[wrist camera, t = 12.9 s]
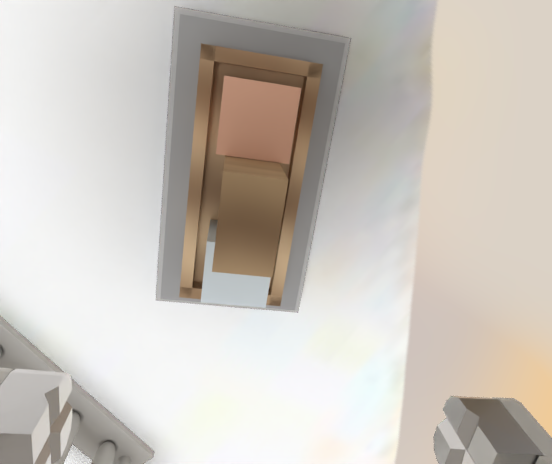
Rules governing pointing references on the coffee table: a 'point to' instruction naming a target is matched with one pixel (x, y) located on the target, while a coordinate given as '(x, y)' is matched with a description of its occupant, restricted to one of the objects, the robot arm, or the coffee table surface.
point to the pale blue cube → (230, 282)
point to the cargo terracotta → (257, 120)
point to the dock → (180, 127)
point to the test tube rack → (77, 409)
